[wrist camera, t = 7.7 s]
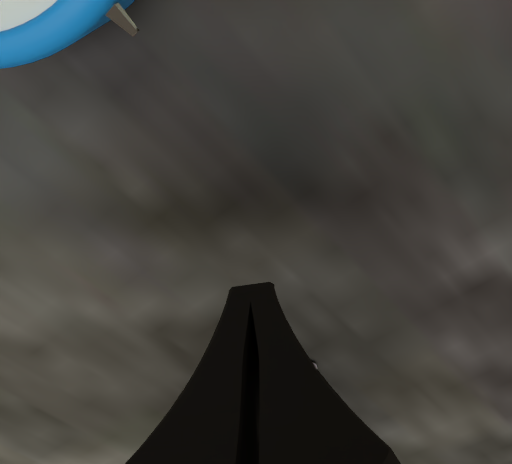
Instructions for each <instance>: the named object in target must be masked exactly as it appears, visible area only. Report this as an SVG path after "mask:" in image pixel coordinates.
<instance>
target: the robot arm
mask: <svg viewBox="0 0 512 464" xmlns="http://www.w3.org/2000/svg"><path fill="white" fill-rule="evenodd" d="M125 464H401V463H400V462H399V460H398V459H397V457H396V456H395V454H394V452H393V451H392V449H391V448H390V447H389V446H388V445H387V444H386V443H385V442H384V441H382V440H381V439H380V438H379V437H378V436H377V435H376V434H375V433H374V432H373V431H372V430H371V429H370V428H369V427H368V426H367V425H366V424H365V423H364V422H363V421H362V420H361V419H360V418H359V417H358V416H357V415H356V414H355V413H354V412H353V411H352V410H351V409H350V408H349V407H348V406H347V404H346V403H345V402H344V401H343V400H342V399H341V398H340V396H339V395H338V394H337V393H336V392H335V391H334V390H333V389H332V387H331V386H330V385H329V384H328V382H327V381H326V380H325V379H324V377H323V376H322V375H321V373H320V372H319V371H318V368H317V365H316V364H315V363H313V362H312V361H311V360H310V358H309V357H308V355H307V354H306V352H305V351H304V349H303V348H302V346H301V344H300V343H299V341H298V340H297V338H296V336H295V334H294V333H293V331H292V329H291V327H290V325H289V323H288V321H287V320H286V318H285V316H284V313H283V311H282V309H281V307H280V304H279V302H278V299H277V296H276V293H275V288H274V284H272V283H271V282H266V283H258V284H251V285H244V286H236V287H232V288H231V289H230V290H229V294H228V298H227V301H226V304H225V307H224V310H223V313H222V315H221V318H220V321H219V323H218V325H217V328H216V330H215V332H214V335H213V337H212V339H211V341H210V343H209V345H208V347H207V349H206V351H205V353H204V355H203V357H202V359H201V361H200V363H199V365H198V367H197V368H196V370H195V372H194V374H193V375H192V377H191V379H190V380H189V382H188V383H187V385H186V387H185V388H184V390H183V391H182V393H181V394H180V396H179V397H178V399H177V400H176V402H175V403H174V405H173V406H172V407H171V409H170V410H169V412H168V413H167V414H166V416H165V417H164V418H163V420H162V421H161V422H160V423H159V425H158V426H157V427H156V428H155V430H154V431H153V432H152V433H151V435H150V436H149V437H148V438H147V440H146V441H145V442H144V443H143V444H142V446H141V447H140V448H139V449H138V450H137V451H136V452H135V453H134V455H133V456H132V457H131V458H130V459H129V460H128V461H127V462H126V463H125Z"/></svg>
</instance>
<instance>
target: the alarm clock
mask: <svg viewBox="0 0 512 464" xmlns="http://www.w3.org/2000/svg"><path fill="white" fill-rule="evenodd" d="M134 1H135V0H0V69H1V68H10V67H16V66H20V65H24V64H28V63H33V62H35V61H38V60H41V59H43V58H46V57H49V56H51V55H53V54H55V53H57V52H59V51H61V50H63V49H65V48H67V47H68V46H70V45H71V44H73V43H75V42H76V41H78V40H79V39H81V38H83V37H84V36H86V35H88V34H89V33H91V32H92V31H94V30H96V29H97V28H99V27H101V26H102V25H104V24H105V23H107V22H109V21H110V20H112V21H113V22H115V23H116V24H117V25H118V26H120V27H121V28H122V29H124V30H125V31H126V32H127V33H129V34H130V35H131V36H133V37H134V36H135V35H136V33H137V32H138V31H139V29H138V28H137V27H136V25H135V24H134V23H133V21H132V20H131V19H130V17H129V16H128V15H127V13H126V12H125V11H124V10H125V9H126V8H127V7H128V6H130V5H131V4H132V3H133V2H134Z"/></svg>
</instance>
